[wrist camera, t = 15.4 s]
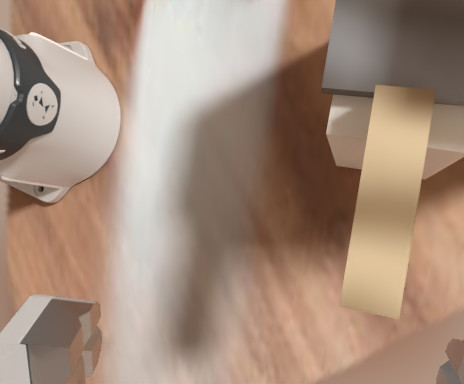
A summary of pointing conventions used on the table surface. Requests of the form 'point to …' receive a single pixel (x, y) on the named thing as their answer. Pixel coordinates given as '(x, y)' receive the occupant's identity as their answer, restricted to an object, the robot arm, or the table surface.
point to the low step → (357, 124)
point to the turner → (392, 127)
